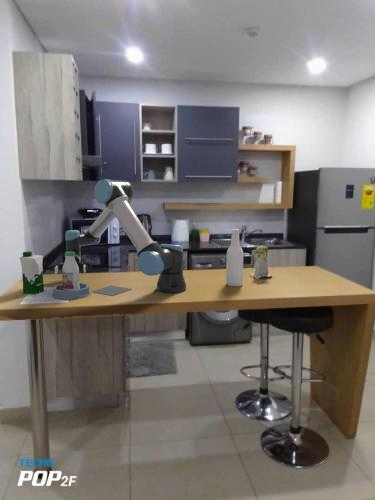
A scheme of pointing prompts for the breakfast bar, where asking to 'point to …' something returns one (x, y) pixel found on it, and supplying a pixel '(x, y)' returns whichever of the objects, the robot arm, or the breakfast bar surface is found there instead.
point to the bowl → (71, 292)
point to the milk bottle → (70, 272)
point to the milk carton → (32, 273)
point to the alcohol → (234, 261)
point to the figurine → (261, 263)
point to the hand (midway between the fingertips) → (70, 270)
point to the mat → (111, 290)
